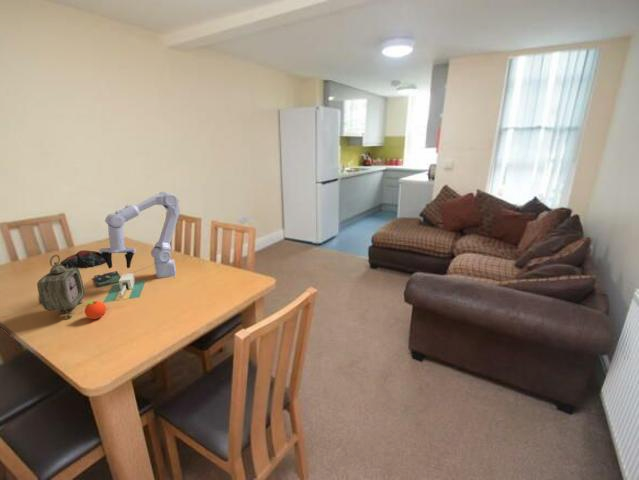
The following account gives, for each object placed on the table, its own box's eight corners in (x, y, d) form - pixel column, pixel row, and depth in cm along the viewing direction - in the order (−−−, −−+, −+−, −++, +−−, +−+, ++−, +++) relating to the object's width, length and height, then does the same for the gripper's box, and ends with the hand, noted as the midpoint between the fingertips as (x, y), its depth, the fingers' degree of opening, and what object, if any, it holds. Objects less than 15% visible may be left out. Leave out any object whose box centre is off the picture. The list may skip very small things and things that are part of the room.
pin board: (146, 282, 156) (144, 274, 155) (139, 299, 139) (138, 291, 138) (113, 286, 152) (112, 279, 150) (103, 304, 135) (101, 296, 133)
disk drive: (94, 280, 159) (98, 290, 148) (93, 275, 159) (97, 285, 148) (118, 275, 166) (123, 284, 155) (117, 270, 165) (122, 279, 154)
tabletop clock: (72, 319, 123) (57, 260, 115) (45, 323, 120) (27, 263, 113) (87, 302, 136) (74, 248, 129) (63, 305, 134) (48, 250, 126)
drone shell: (112, 262, 183) (109, 249, 181) (73, 273, 168) (69, 259, 165) (95, 255, 194) (93, 243, 192) (57, 265, 179) (54, 252, 176)
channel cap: (135, 282, 154) (133, 272, 153) (131, 289, 147) (130, 279, 145) (124, 283, 153) (122, 274, 151) (120, 290, 145) (118, 280, 144)
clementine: (81, 324, 120) (77, 308, 118) (85, 315, 126) (82, 300, 124) (105, 320, 123) (102, 304, 121) (109, 311, 129) (105, 296, 127)
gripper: (94, 241, 137) (98, 270, 141) (131, 241, 141) (133, 270, 144) (101, 238, 144) (105, 265, 147) (136, 238, 147) (138, 265, 151)
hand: (119, 267), depth 146 cm, fingers open, 7 cm apart
